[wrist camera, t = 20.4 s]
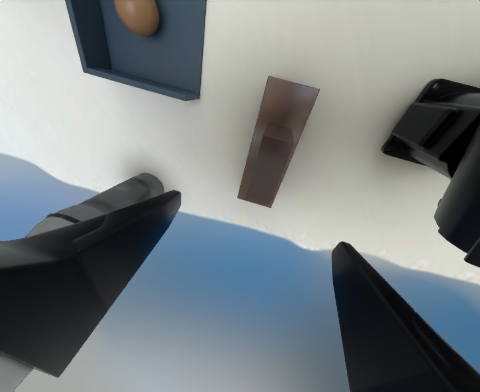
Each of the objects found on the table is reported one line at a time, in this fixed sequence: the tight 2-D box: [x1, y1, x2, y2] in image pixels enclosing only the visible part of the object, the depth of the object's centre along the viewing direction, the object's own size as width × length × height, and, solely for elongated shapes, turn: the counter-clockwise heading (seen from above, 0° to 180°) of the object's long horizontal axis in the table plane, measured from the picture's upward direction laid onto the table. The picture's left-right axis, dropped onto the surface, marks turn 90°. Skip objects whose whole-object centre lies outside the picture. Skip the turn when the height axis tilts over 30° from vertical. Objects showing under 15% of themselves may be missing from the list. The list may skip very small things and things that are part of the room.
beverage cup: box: [26, 173, 164, 237], centre depth 19 cm, size 7×7×20 cm
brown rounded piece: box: [114, 0, 159, 36], centre depth 14 cm, size 3×3×3 cm
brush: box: [237, 76, 320, 208], centre depth 17 cm, size 4×13×7 cm, turn 168°
